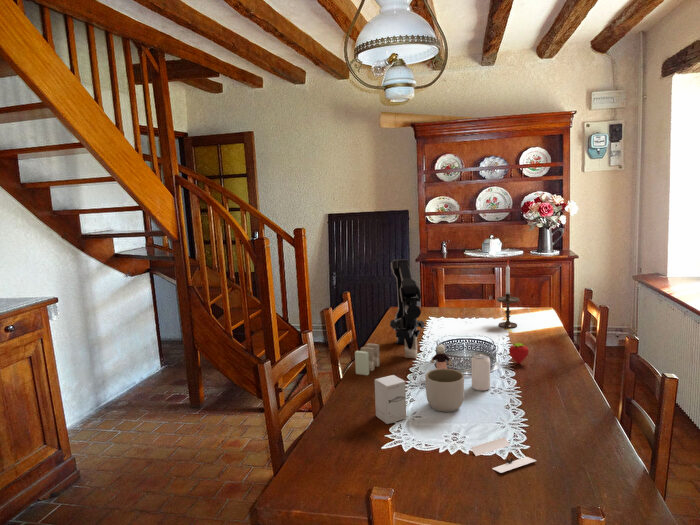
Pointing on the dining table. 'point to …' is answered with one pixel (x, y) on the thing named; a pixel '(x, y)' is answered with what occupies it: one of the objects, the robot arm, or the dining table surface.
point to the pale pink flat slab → (497, 445)
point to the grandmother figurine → (441, 358)
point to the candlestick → (507, 301)
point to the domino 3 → (413, 351)
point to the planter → (445, 389)
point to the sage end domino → (362, 362)
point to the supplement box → (390, 399)
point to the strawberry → (518, 352)
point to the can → (480, 372)
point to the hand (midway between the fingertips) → (410, 348)
